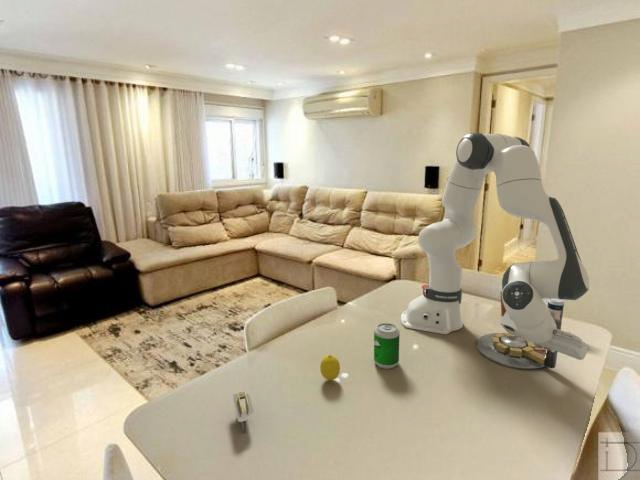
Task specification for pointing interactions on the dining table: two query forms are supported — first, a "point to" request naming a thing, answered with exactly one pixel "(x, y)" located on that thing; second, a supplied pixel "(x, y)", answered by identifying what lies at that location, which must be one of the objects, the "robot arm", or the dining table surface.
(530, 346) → the tan handled ring
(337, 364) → the lemon
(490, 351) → the flange
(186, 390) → the dining table surface
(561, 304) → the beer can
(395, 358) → the soda can
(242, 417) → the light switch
